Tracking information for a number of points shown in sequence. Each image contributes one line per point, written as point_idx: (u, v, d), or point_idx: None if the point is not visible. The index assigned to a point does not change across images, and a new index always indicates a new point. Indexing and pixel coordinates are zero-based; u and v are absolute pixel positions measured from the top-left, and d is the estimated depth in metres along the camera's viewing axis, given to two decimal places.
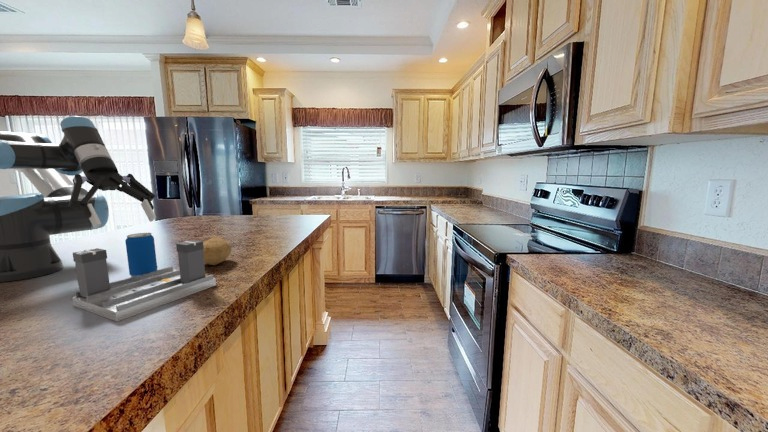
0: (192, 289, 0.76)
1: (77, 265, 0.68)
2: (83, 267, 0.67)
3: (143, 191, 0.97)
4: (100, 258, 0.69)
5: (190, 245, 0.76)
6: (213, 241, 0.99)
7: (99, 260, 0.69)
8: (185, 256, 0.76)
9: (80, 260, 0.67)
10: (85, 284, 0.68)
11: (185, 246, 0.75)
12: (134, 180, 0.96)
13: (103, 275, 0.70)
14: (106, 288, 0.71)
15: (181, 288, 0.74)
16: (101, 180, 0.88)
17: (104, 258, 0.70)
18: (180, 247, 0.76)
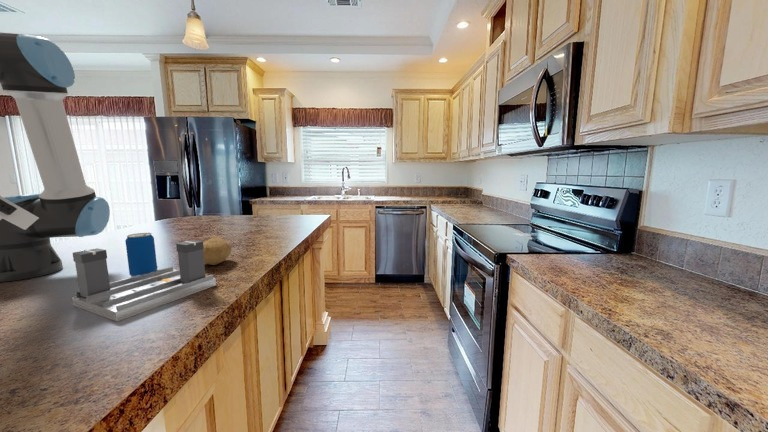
0: (192, 289, 0.76)
1: (77, 265, 0.68)
2: (83, 267, 0.67)
3: None
4: (100, 258, 0.69)
5: (190, 245, 0.76)
6: (213, 241, 0.99)
7: (99, 260, 0.69)
8: (185, 256, 0.76)
9: (80, 260, 0.67)
10: (85, 284, 0.68)
11: (185, 246, 0.75)
12: None
13: (103, 275, 0.70)
14: (106, 288, 0.71)
15: (181, 288, 0.74)
16: None
17: (104, 258, 0.70)
18: (180, 247, 0.76)
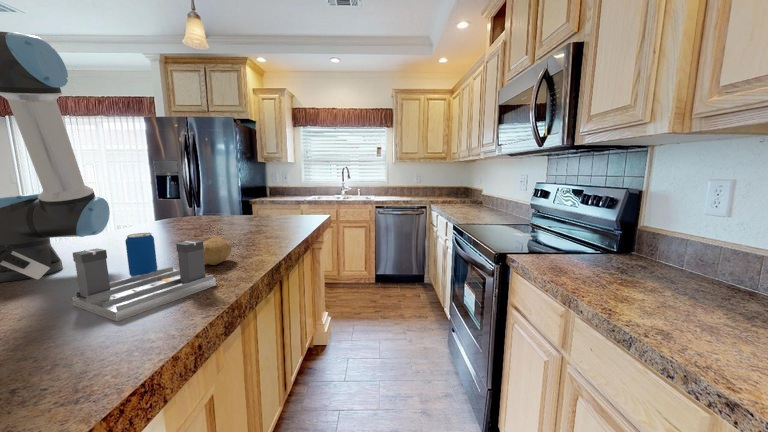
0: (192, 289, 0.76)
1: (77, 265, 0.68)
2: (83, 267, 0.67)
3: None
4: (100, 258, 0.69)
5: (190, 245, 0.76)
6: (213, 241, 0.99)
7: (99, 260, 0.69)
8: (185, 256, 0.76)
9: (80, 260, 0.67)
10: (85, 284, 0.68)
11: (185, 246, 0.75)
12: None
13: (103, 275, 0.70)
14: (106, 288, 0.71)
15: (181, 288, 0.74)
16: None
17: (104, 258, 0.70)
18: (180, 247, 0.76)
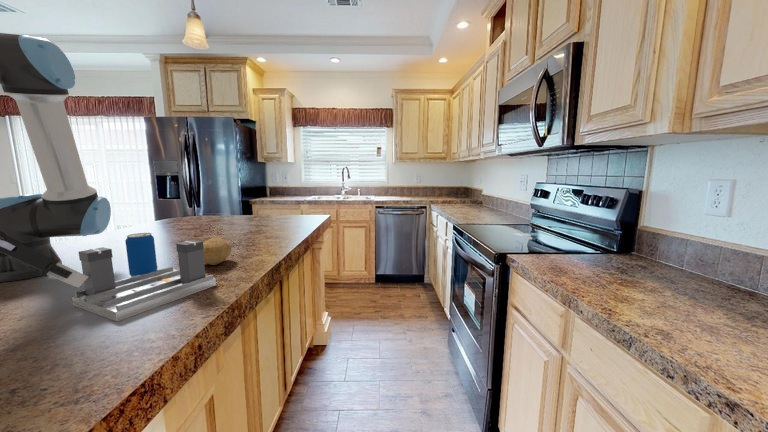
0: (192, 289, 0.76)
1: (83, 264, 0.69)
2: (88, 266, 0.68)
3: None
4: (106, 257, 0.70)
5: (190, 245, 0.76)
6: (213, 241, 0.99)
7: (105, 258, 0.70)
8: (185, 256, 0.76)
9: (86, 259, 0.68)
10: (91, 282, 0.69)
11: (185, 246, 0.75)
12: (7, 255, 0.55)
13: (108, 274, 0.71)
14: (111, 287, 0.72)
15: (181, 288, 0.74)
16: None
17: (109, 257, 0.71)
18: (180, 247, 0.76)
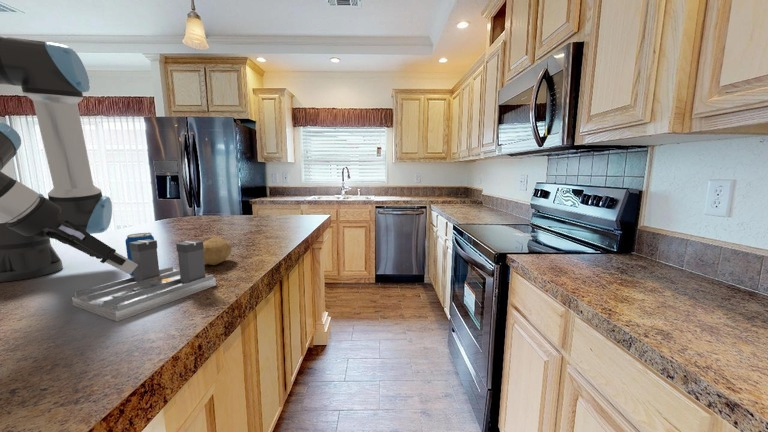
0: (192, 289, 0.76)
1: (133, 253, 0.78)
2: (138, 255, 0.77)
3: None
4: (152, 247, 0.79)
5: (190, 245, 0.76)
6: (213, 241, 0.99)
7: (151, 249, 0.79)
8: (185, 256, 0.76)
9: (136, 249, 0.76)
10: (140, 270, 0.77)
11: (185, 246, 0.75)
12: (79, 243, 0.63)
13: (154, 262, 0.80)
14: (156, 274, 0.80)
15: (181, 288, 0.74)
16: None
17: (155, 248, 0.80)
18: (180, 247, 0.76)
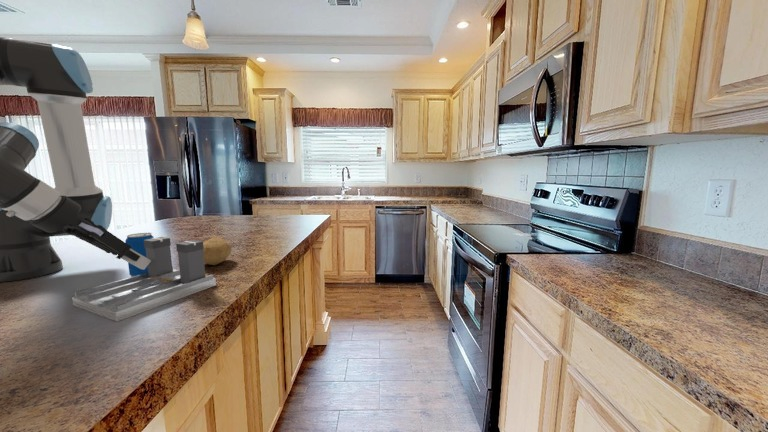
0: (192, 289, 0.76)
1: (147, 250, 0.81)
2: (153, 252, 0.80)
3: None
4: (165, 245, 0.82)
5: (190, 245, 0.76)
6: (213, 241, 0.99)
7: (165, 246, 0.82)
8: (185, 256, 0.76)
9: (151, 246, 0.79)
10: (154, 266, 0.80)
11: (185, 246, 0.75)
12: (97, 239, 0.67)
13: (167, 259, 0.83)
14: (169, 270, 0.83)
15: (181, 288, 0.74)
16: (74, 235, 0.67)
17: (168, 245, 0.83)
18: (180, 247, 0.76)
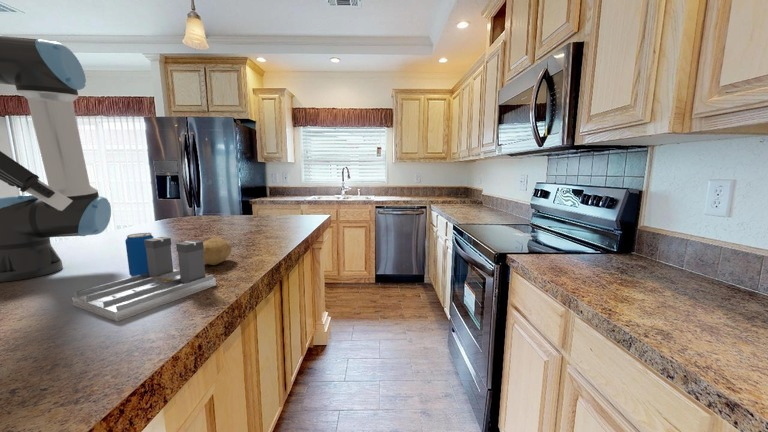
0: (192, 289, 0.76)
1: (148, 250, 0.81)
2: (153, 252, 0.80)
3: None
4: (166, 245, 0.82)
5: (190, 245, 0.76)
6: (213, 241, 0.99)
7: (165, 246, 0.82)
8: (185, 256, 0.76)
9: (151, 246, 0.80)
10: (155, 266, 0.80)
11: (185, 246, 0.75)
12: None
13: (168, 259, 0.83)
14: (170, 270, 0.84)
15: (181, 288, 0.74)
16: None
17: (169, 245, 0.83)
18: (180, 247, 0.76)
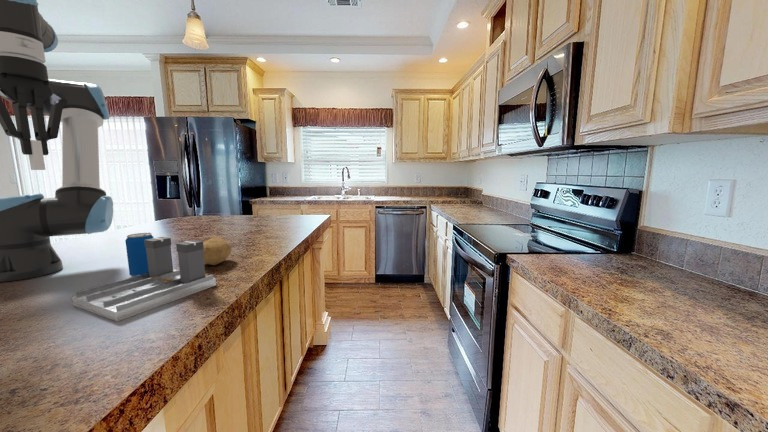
0: (192, 289, 0.76)
1: (148, 250, 0.81)
2: (153, 252, 0.80)
3: (51, 123, 0.71)
4: (166, 245, 0.82)
5: (190, 245, 0.76)
6: (213, 241, 0.99)
7: (165, 246, 0.82)
8: (185, 256, 0.76)
9: (151, 246, 0.80)
10: (155, 266, 0.80)
11: (185, 246, 0.75)
12: (59, 108, 0.72)
13: (168, 259, 0.83)
14: (170, 270, 0.84)
15: (181, 288, 0.74)
16: (22, 95, 0.66)
17: (169, 245, 0.83)
18: (180, 247, 0.76)
